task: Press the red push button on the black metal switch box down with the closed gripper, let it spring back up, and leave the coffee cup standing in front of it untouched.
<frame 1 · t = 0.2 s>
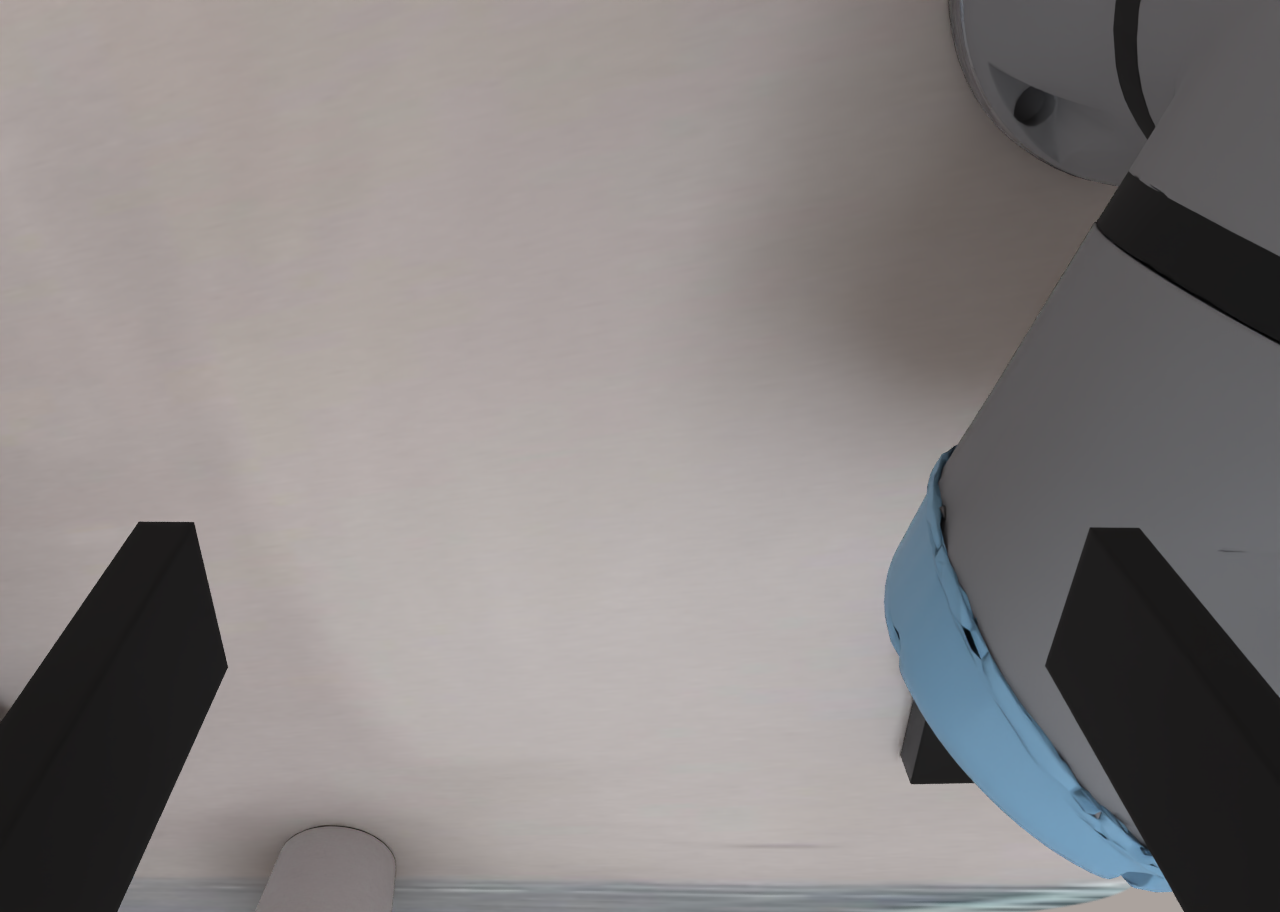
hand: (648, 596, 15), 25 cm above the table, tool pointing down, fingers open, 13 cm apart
coffee cup: (338, 860, 56), on the table
switch box: (1019, 656, 50), on the table
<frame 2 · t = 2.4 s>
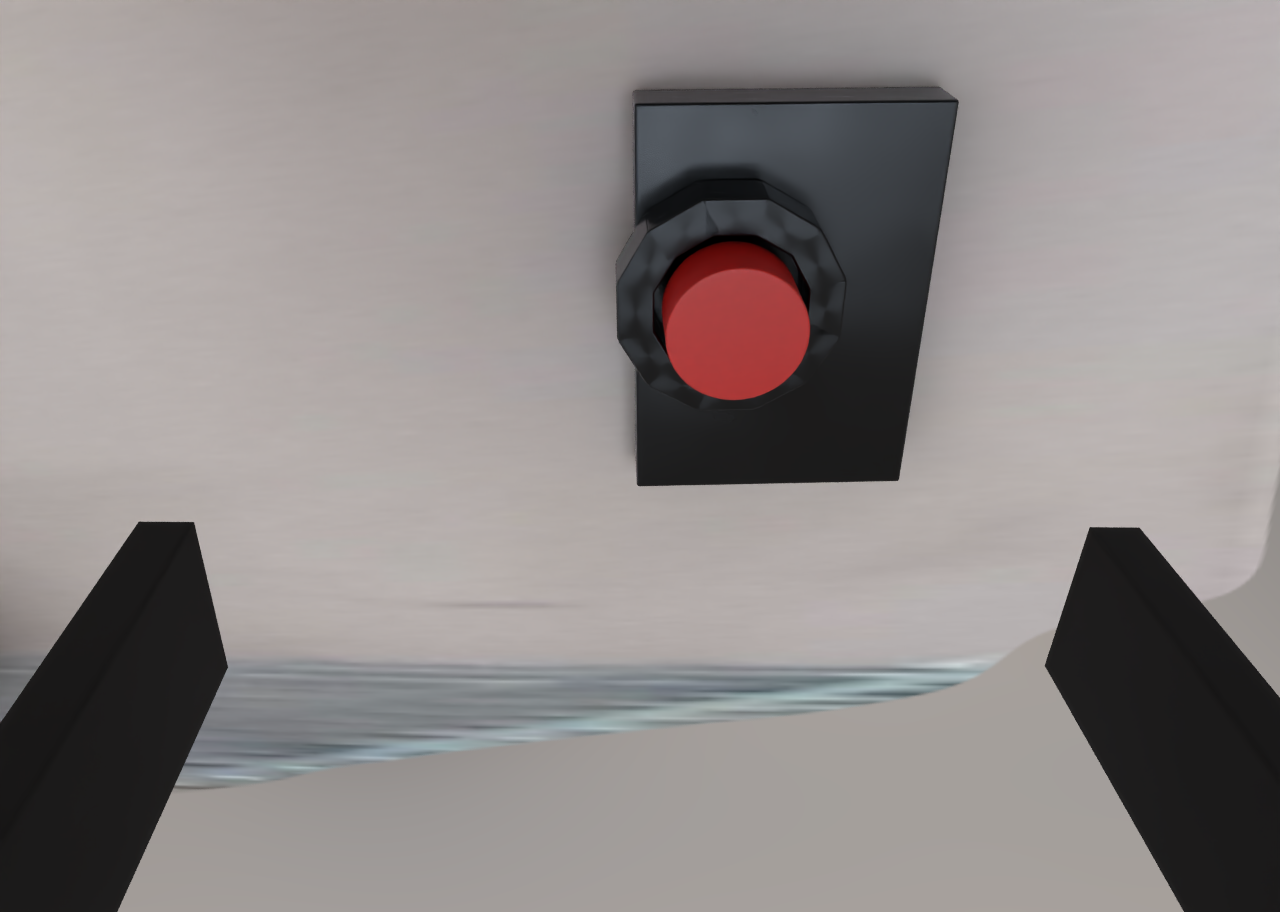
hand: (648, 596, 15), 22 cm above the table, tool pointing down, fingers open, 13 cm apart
switch box: (773, 291, 36), on the table
button: (733, 321, 31), point 5 cm above the table, slide at 0.1 cm
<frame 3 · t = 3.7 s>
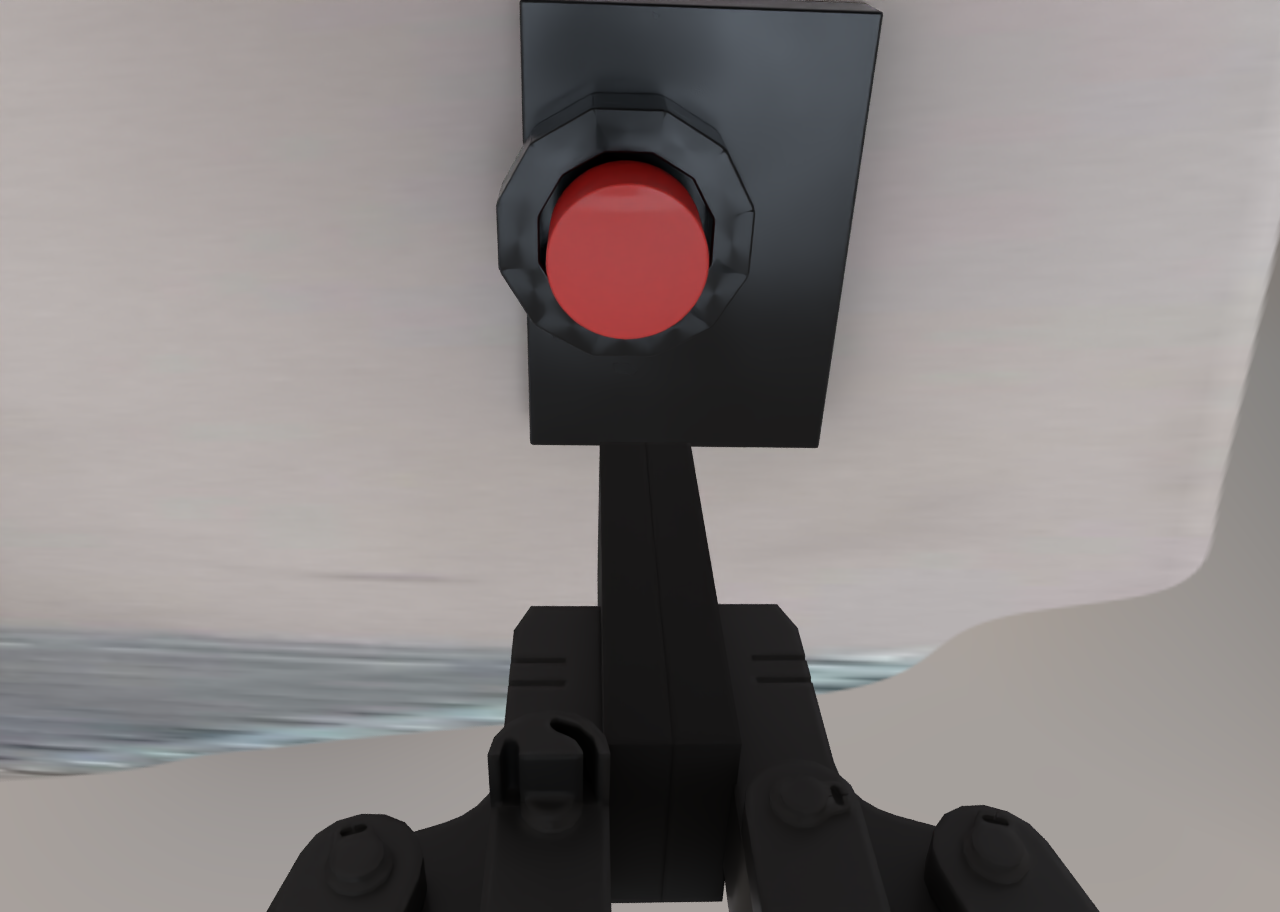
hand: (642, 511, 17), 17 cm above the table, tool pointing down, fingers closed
switch box: (682, 231, 32), on the table
button: (626, 250, 28), point 5 cm above the table, slide at 0.1 cm
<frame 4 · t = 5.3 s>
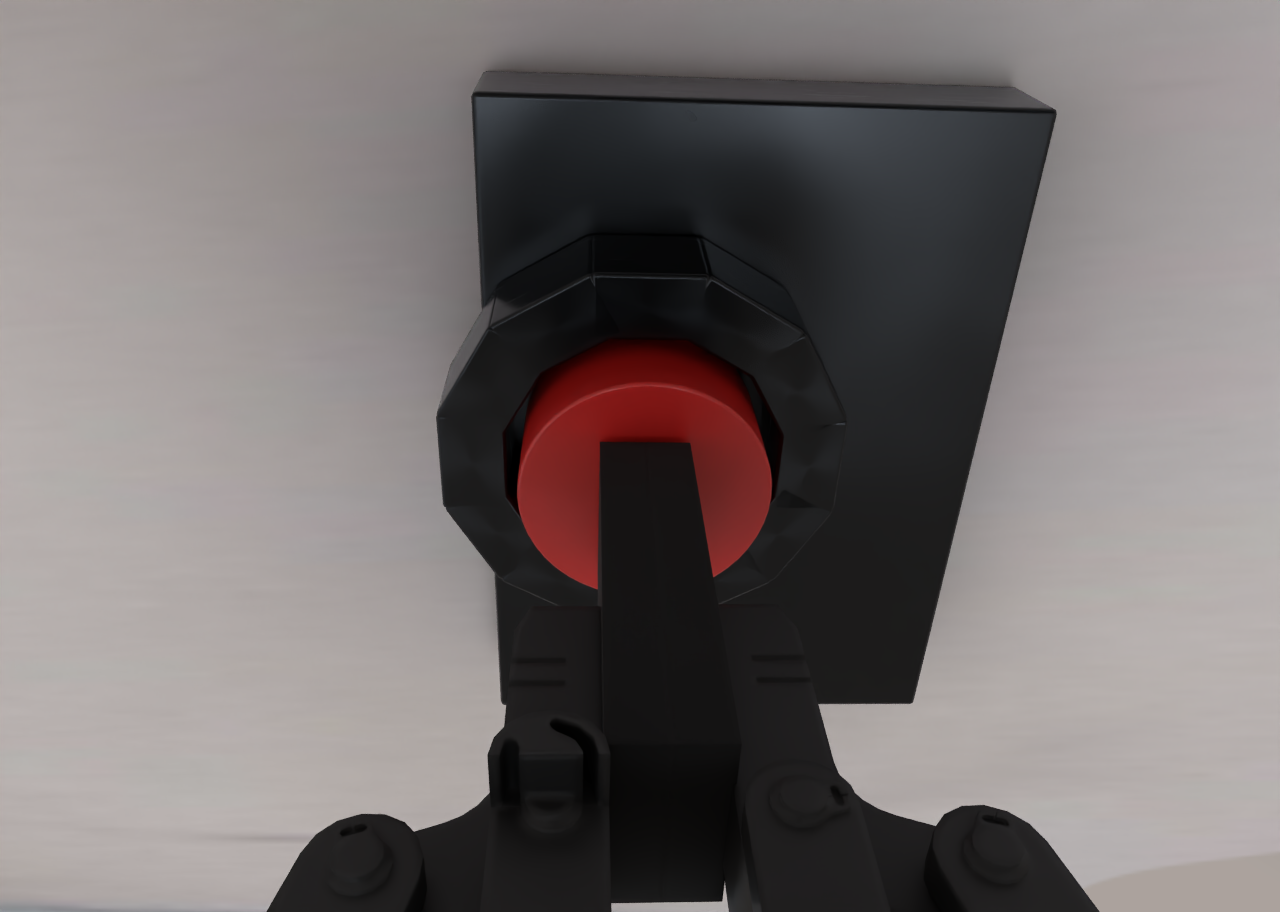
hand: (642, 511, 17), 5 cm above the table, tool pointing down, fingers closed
switch box: (723, 410, 22), on the table
button: (642, 461, 18), point 4 cm above the table, slide at -0.8 cm, touching gripper
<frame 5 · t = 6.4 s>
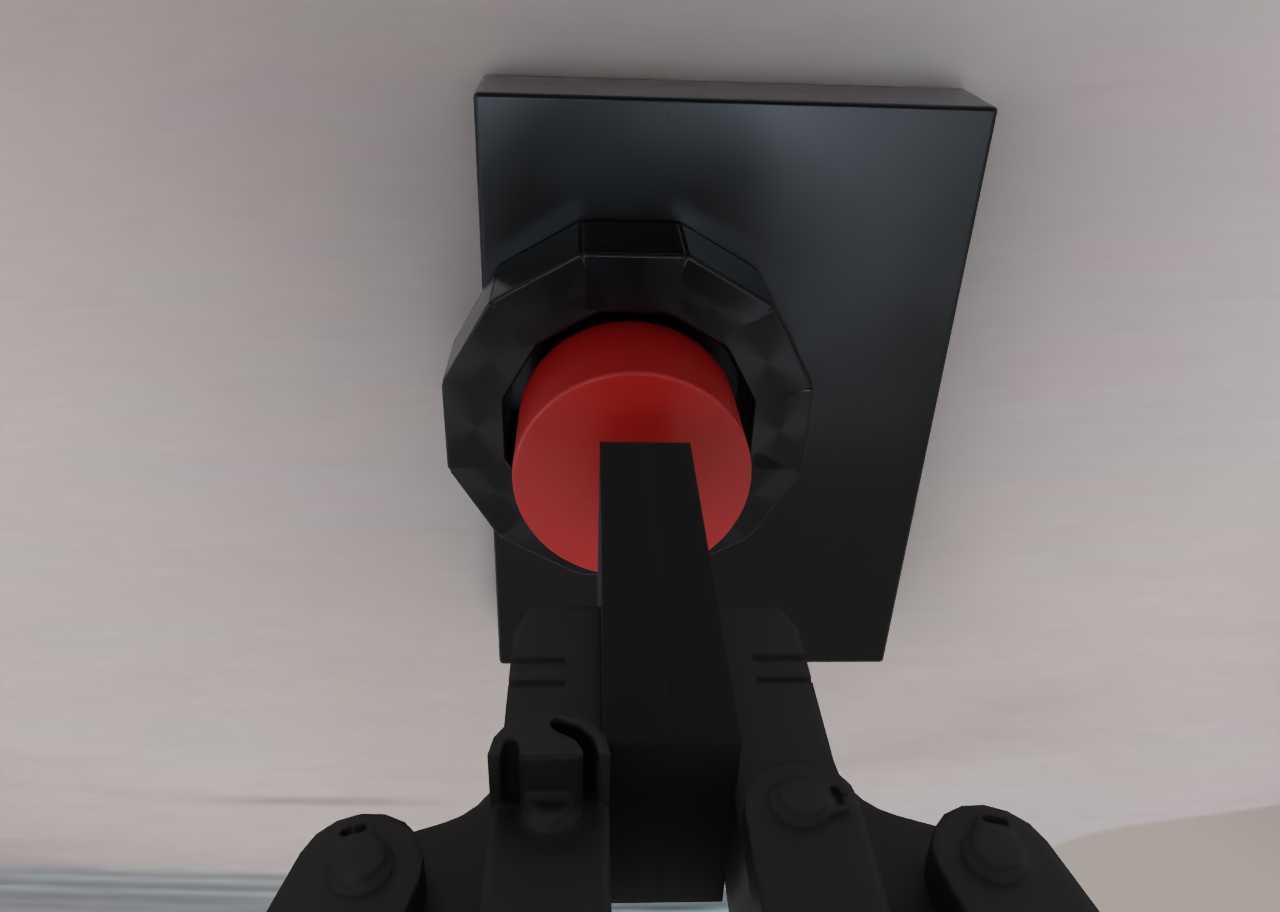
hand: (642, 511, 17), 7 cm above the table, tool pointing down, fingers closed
switch box: (704, 387, 24), on the table
button: (630, 448, 19), point 5 cm above the table, slide at 0.1 cm
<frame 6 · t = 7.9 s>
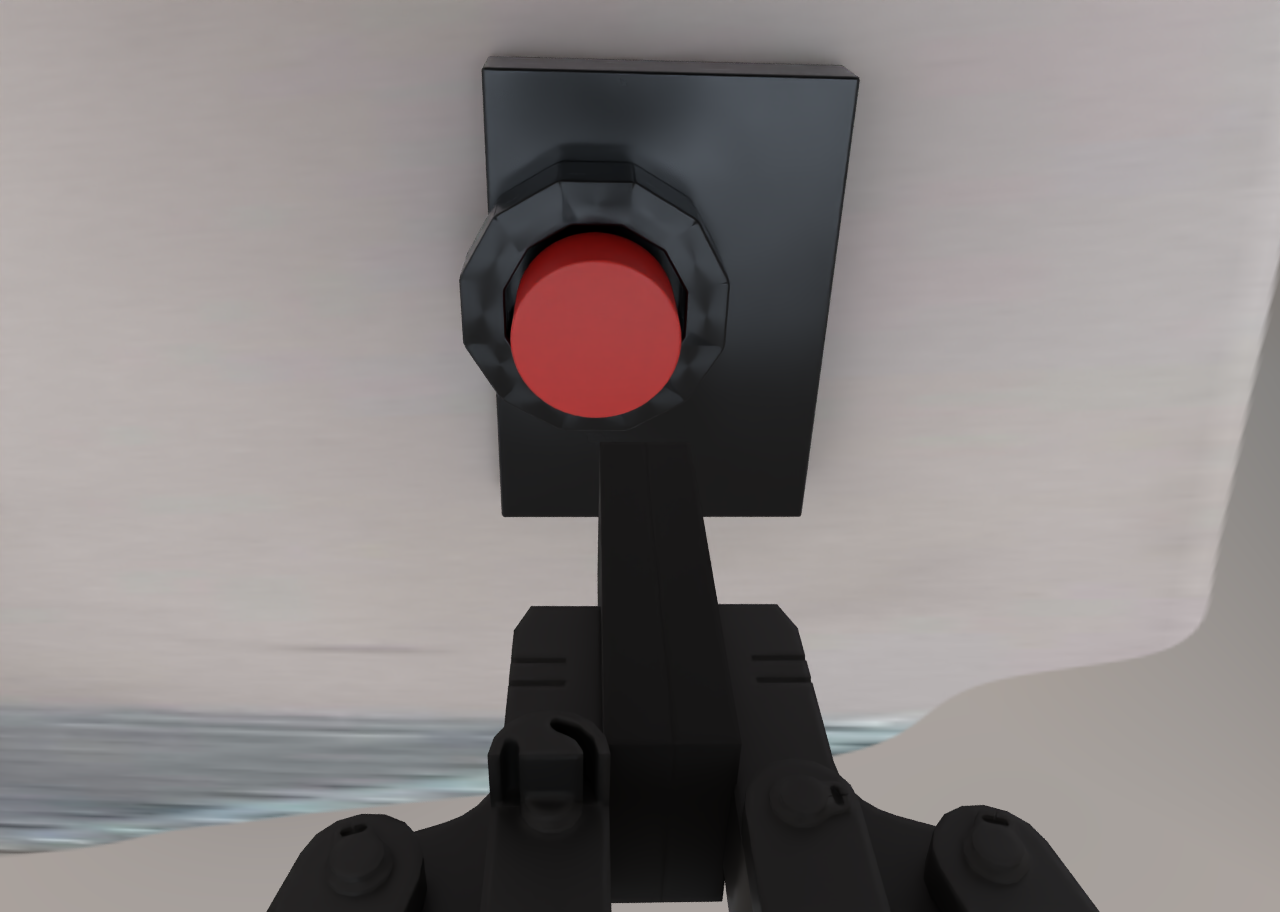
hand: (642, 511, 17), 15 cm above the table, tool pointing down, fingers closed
switch box: (657, 297, 31), on the table
button: (595, 325, 27), point 5 cm above the table, slide at 0.1 cm
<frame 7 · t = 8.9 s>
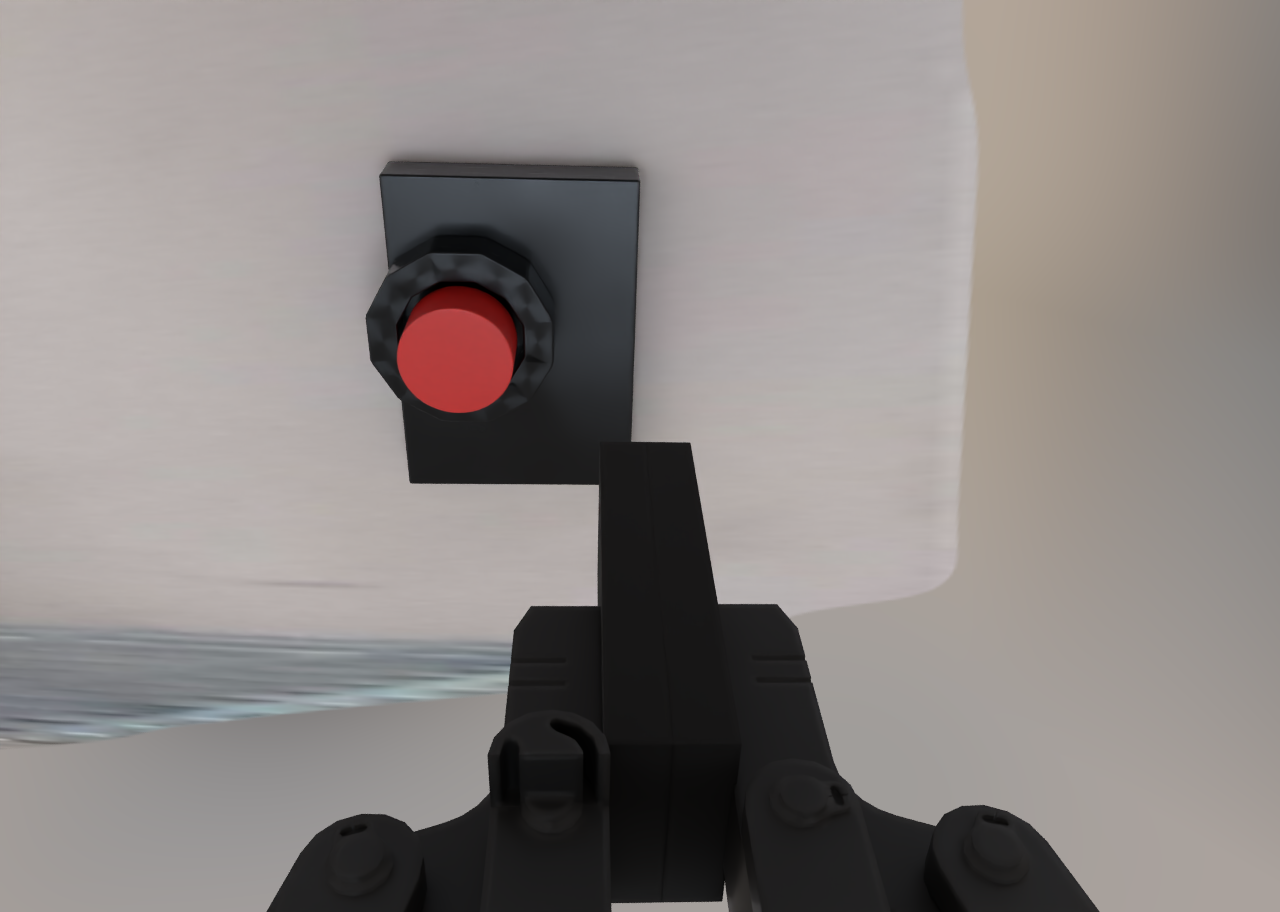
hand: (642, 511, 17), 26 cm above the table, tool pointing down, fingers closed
switch box: (518, 325, 43), on the table
button: (458, 349, 39), point 5 cm above the table, slide at 0.1 cm
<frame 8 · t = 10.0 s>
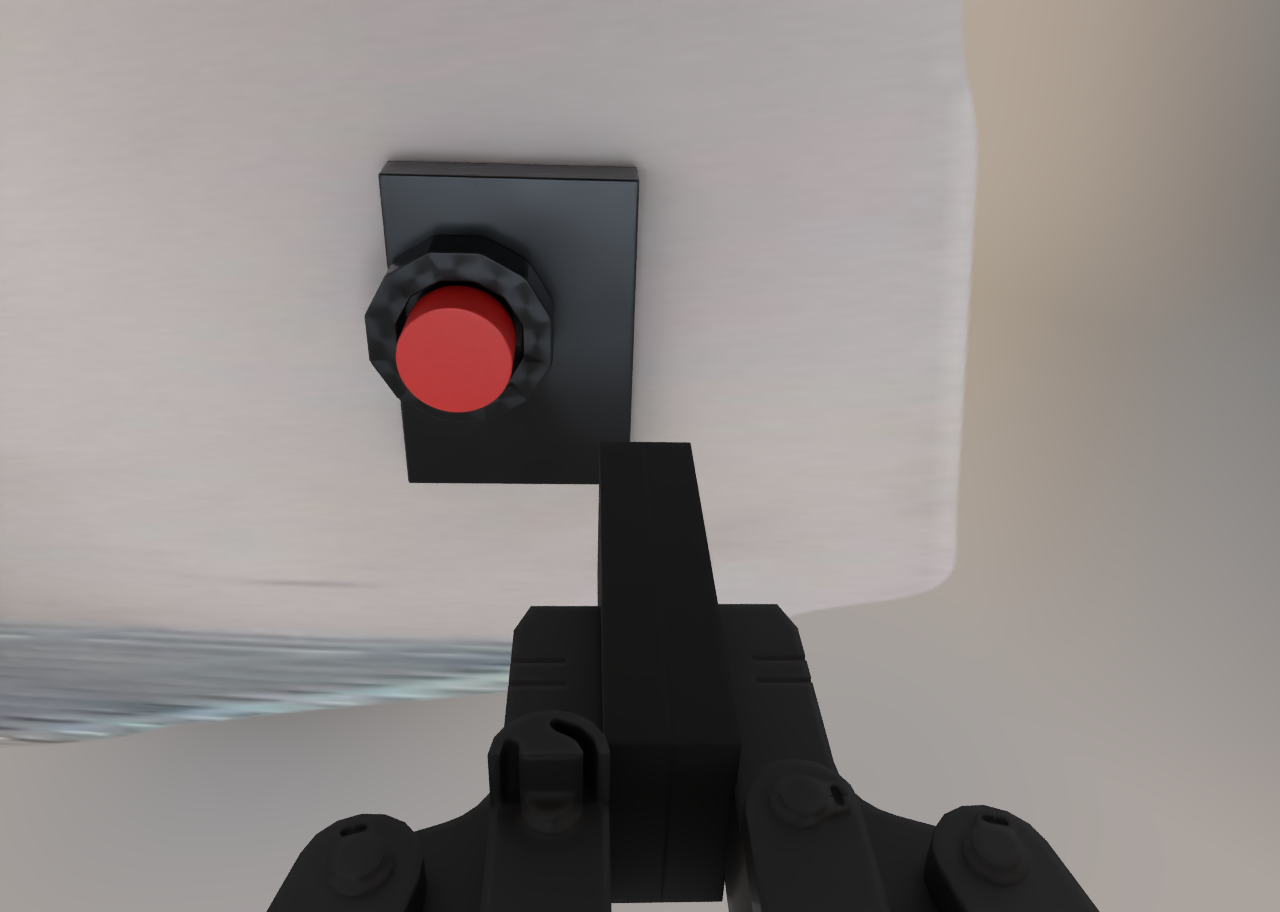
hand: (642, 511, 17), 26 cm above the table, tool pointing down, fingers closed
switch box: (517, 324, 43), on the table
button: (457, 349, 39), point 5 cm above the table, slide at 0.1 cm
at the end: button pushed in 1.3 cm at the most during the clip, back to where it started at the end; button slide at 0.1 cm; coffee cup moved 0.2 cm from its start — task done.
